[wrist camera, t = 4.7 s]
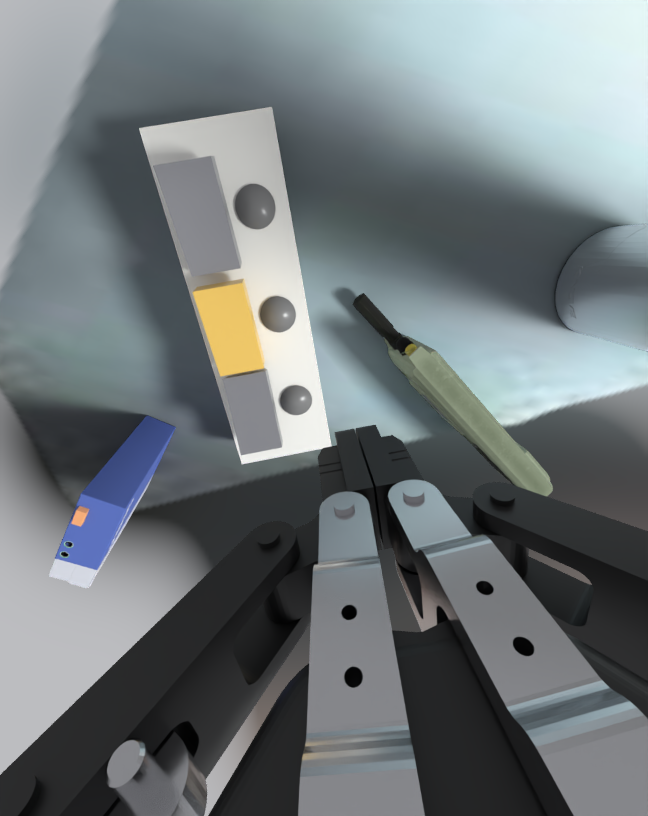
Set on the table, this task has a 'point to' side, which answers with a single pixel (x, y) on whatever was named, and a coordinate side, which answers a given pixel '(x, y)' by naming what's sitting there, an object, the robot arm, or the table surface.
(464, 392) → the handheld radio
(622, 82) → the table surface
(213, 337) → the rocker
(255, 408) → the block
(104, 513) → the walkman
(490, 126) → the table surface
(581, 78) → the table surface
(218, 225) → the grey flat block
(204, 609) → the robot arm
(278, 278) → the power strip
